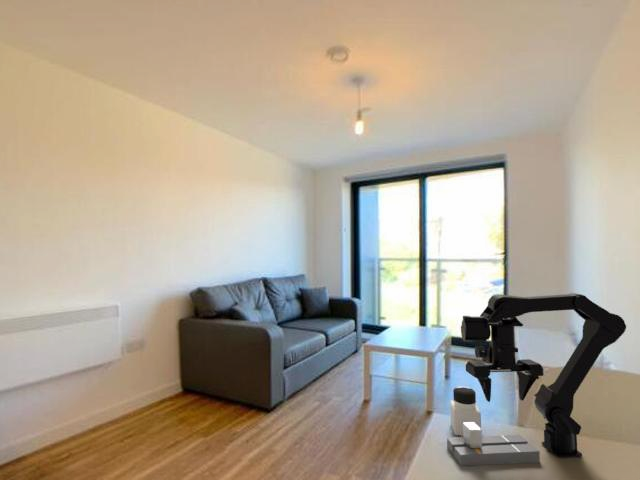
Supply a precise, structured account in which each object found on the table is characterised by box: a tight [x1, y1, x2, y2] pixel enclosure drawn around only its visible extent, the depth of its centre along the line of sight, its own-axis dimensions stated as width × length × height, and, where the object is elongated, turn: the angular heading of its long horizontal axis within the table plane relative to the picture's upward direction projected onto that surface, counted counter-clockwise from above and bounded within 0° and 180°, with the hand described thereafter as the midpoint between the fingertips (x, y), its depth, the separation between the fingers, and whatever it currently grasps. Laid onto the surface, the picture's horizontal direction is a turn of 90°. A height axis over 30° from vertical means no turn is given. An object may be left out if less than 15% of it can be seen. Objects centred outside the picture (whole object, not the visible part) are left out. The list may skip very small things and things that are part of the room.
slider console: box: [446, 434, 541, 467], centre depth 91 cm, size 20×8×3 cm, turn 93°
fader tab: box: [462, 422, 483, 448], centre depth 91 cm, size 3×4×6 cm
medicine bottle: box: [449, 386, 482, 437], centre depth 103 cm, size 7×7×12 cm
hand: (504, 400), depth 95 cm, fingers open, 9 cm apart
